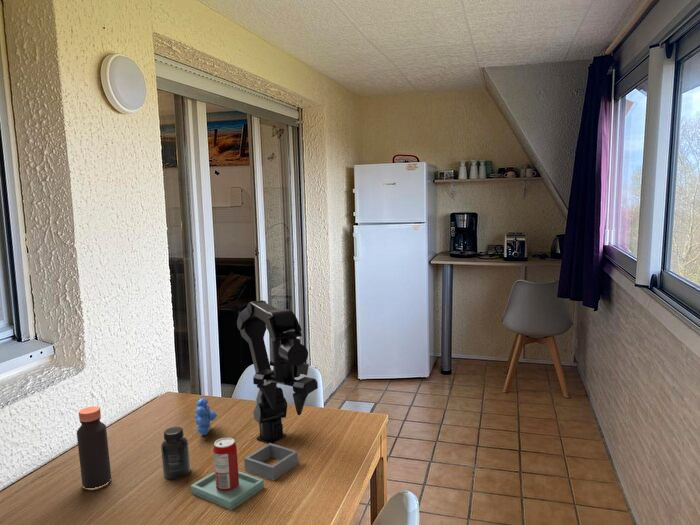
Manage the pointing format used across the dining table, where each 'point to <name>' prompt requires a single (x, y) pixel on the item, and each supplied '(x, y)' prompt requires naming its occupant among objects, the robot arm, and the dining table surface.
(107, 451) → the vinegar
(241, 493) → the tray
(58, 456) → the dining table surface
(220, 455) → the soda can
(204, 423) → the grapes
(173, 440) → the supplement bottle
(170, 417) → the dining table surface
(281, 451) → the frame
